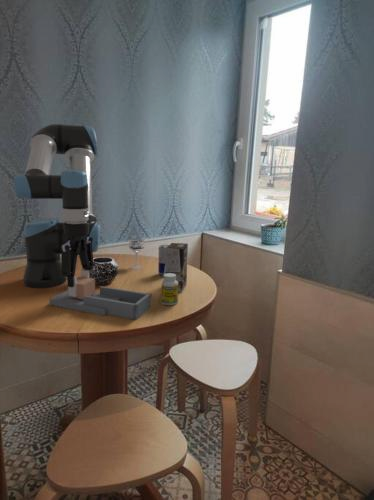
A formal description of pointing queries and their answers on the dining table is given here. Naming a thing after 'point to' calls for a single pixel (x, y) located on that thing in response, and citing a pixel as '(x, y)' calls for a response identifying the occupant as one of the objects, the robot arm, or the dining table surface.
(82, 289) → the terracotta block
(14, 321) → the dining table surface
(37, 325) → the dining table surface
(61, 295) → the sliding lid box
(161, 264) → the energy drink
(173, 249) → the coffee box
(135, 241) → the wineglass
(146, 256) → the dining table surface
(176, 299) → the supplement bottle
